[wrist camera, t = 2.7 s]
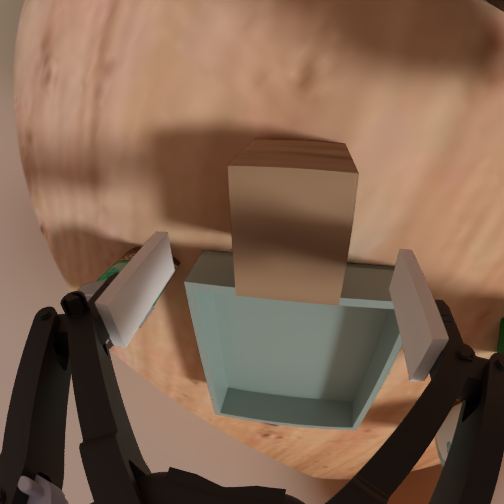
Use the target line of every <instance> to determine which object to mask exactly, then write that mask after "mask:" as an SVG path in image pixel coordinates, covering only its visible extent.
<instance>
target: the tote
mask: <svg viewBox="0 0 504 504" xmlns="http://www.w3.org/2000/svg"><path fill="white" fill-rule="evenodd" d="M394 269H395V267H390V266H378V265H366V264H355V263H346V269H345V275H344V280H343V285H342V291H341V296H340V301H339V306H338V305H326V304H314V303H303V302H293V301H282V300H273V299H263V298H254V297H245V296H236V290H235V276H234V262H233V253H227V252H215V251H204V250H203V252H202V253H201V255H200V256H199V258H198V260H197V261H196V263H195V264H194V266H193V268H192V269H191V271H190V273H189V274H188V276H187V277H186V279H185V281H184V284H185V289H186V294H187V299H188V304H189V309H190V313H191V318H192V323H193V327H194V332H195V336H196V341H197V345H198V349H199V353H200V357H201V362H202V366H203V370H204V374H205V378H206V382H207V385H208V389H209V393H210V397H211V400H212V404H213V408H214V411H215V414H217V415H221V416H227V417H232V418H238V419H243V420H249V421H256V422H263V423H270V424H278V425H286V426H296V427H306V428H319V429H337V430H357V428H358V427H359V425H360V423H361V422H362V420H363V419H364V417H365V415H366V413H367V412H368V410H369V408H370V407H371V405H372V403H373V401H374V400H375V398H376V396H377V394H378V392H379V391H380V389H381V387H382V385H383V383H384V381H385V379H386V377H387V375H388V374H389V372H390V370H391V368H392V366H393V364H394V362H395V359H396V357H397V355H398V353H399V351H400V349H401V347H402V340H401V336H400V331H399V327H398V323H397V319H396V314H395V310H394V306H393V303H392V299H391V295H390V291H389V287H390V284H391V280H392V276H393V273H394Z"/></svg>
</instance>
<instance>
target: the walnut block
mask: <svg viewBox="0 0 504 504" xmlns="http://www.w3.org/2000/svg"><path fill="white" fill-rule="evenodd" d="M358 176H359V173H358V171H357V168H356V166H355V164H354V162H353V159H352V157H351V155H350V153H349V151H348V148H347V146H346V144H341V143H330V142H317V141H301V140H280V139H254V140H253V141H252V142H251V143H250V144H249V145H248V146H247V147H246V148H245V149H244V150H243V151H242V152H241V153H240V154H239V155H238V156H237V157H236V158H235V159H234V160H233V161H232V162H231V163H230V164H229V165H228V183H229V200H230V217H231V232H232V248H233V262H234V276H235V290H236V296H245V297H254V298H263V299H273V300H282V301H293V302H303V303H314V304H326V305H338V306H339V301H340V296H341V291H342V285H343V280H344V275H345V269H346V263H347V257H348V251H349V245H350V238H351V232H352V225H353V218H354V210H355V202H356V194H357V185H358Z"/></svg>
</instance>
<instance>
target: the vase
mask: <svg viewBox="0 0 504 504" xmlns="http://www.w3.org/2000/svg"><path fill="white" fill-rule="evenodd" d="M461 406H462V402H461V403H458V404H456V405H455V406H453V407H452V409H451V410H450V412H449V414H448V416H447V417H446V419H445V421H444V422H443V424H442V426H441V427H440V429H439V431H438V432H437V434H436V435H435V443H436V448H437V452H438V456H439V459H440V461H441V464H442V466H443V467H444V464H445V461H446V459H447V456H448V453H449V449H450V446H451V443H452V440H453V436H454V433H455V429H456V426H457V422H458V418H459V414H460V410H461Z"/></svg>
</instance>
